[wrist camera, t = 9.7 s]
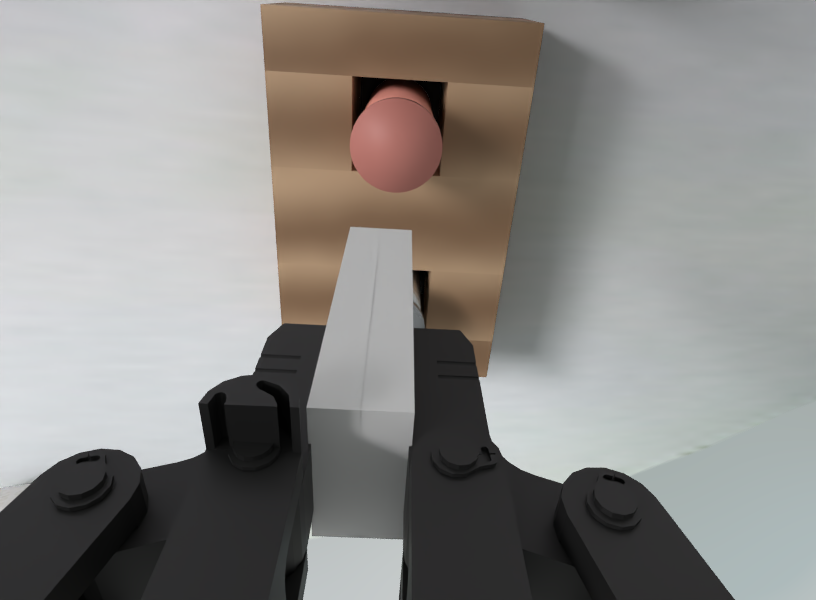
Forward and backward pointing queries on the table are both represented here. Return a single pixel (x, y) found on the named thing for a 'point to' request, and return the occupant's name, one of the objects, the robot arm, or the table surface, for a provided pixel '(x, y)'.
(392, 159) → the plug red
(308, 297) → the socket block
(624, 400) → the table surface
